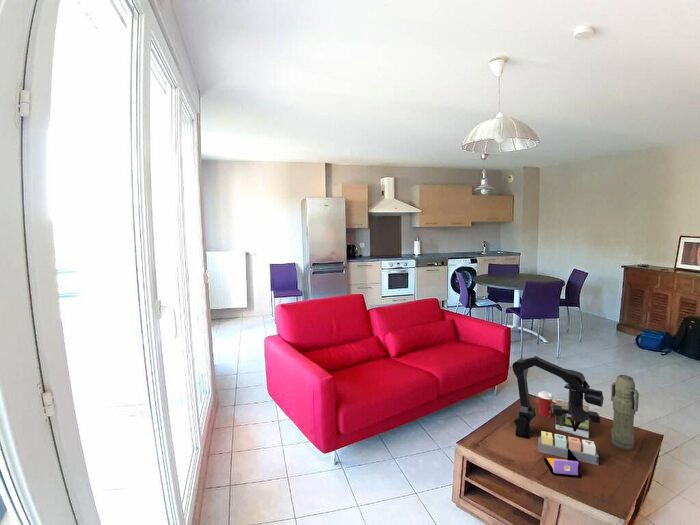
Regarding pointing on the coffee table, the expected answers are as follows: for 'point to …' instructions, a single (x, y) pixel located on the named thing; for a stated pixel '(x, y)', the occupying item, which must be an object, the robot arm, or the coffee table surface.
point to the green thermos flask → (624, 411)
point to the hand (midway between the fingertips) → (574, 430)
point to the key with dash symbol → (574, 444)
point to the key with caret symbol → (560, 441)
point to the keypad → (564, 452)
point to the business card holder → (564, 466)
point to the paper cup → (545, 404)
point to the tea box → (565, 423)
